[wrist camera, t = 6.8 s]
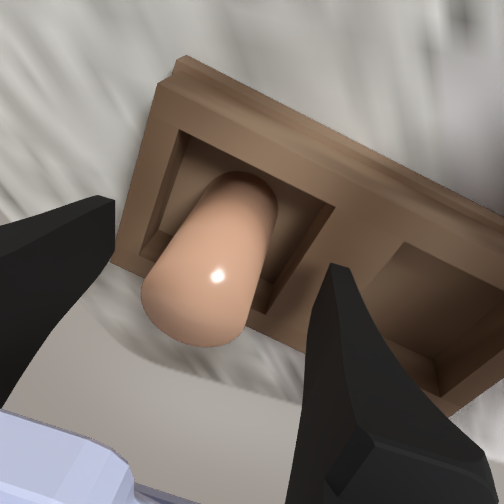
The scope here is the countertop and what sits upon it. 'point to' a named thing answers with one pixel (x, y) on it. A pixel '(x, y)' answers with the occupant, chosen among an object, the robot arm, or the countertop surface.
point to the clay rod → (213, 263)
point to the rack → (328, 229)
